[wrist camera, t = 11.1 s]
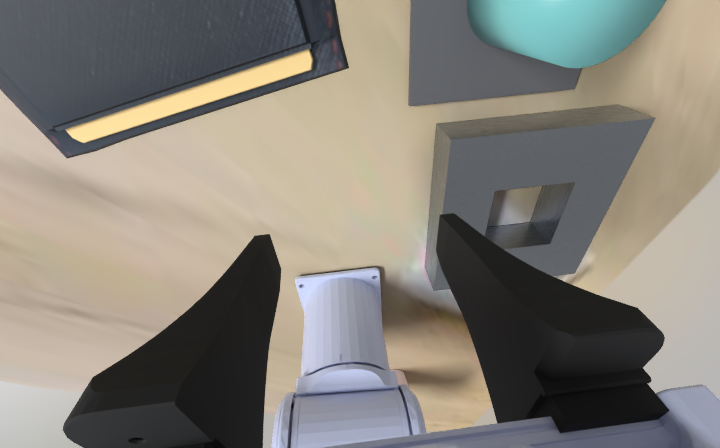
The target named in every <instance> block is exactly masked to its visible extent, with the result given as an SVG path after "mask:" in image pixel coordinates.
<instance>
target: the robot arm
mask: <svg viewBox="0 0 720 448" xmlns="http://www.w3.org/2000/svg"><path fill="white" fill-rule="evenodd" d="M436 253H437V256H438V260H439V263H440V266H441V269H442V272H443V274H444V276H445V278H446V280H447V282H448V285H449V287H450V289H451V291H452V293H453V295H454V297H455V299H456V301H457V304H458V306H459V308H460V310H461V312H462V314H463V316H464V319H465V321H466V324H467V326H468V329H469V332H470V335H471V338H472V341H473V343H474V346H475V349H476V353H477V356H478V359H479V362H480V365H481V368H482V371H483V374H484V378H485V381H486V384H487V388H488V391H489V394H490V398H491V401H492V405H493V408H494V412H495V416H496V419H497V423H498V424H491V425H484V426H476V427H469V428H461V429H454V430H447V431H439V432H432V433H426V428H425V423H424V418H423V414H422V411H421V407H420V405H419V402H418V400H417V397H416V396H415V394H414V393H413V392H412V391H411V390H410V389H409V388H408V386H407V385H405V384H402V385H398V382H397V377H396V372H395V371H390V369H389V363H388V357H387V352H386V346H385V340H384V334H383V329H382V309H381V288H380V272H379V269H378V268H366V269H357V270H349V271H340V272H332V273H324V274H315V275H307V276H299V277H297V278H296V279H295V284H296V287H297V290H298V294H299V297H300V300H301V304H302V307H303V310H304V314H305V320H304V335H303V350H302V365H301V377H298V378H297V385H296V393H295V392H290V393H287V394H286V395H285V398H284V399H283V400H282V401H281V402H280V403H279V405H278V408H277V412H276V417H275V423H274V430H273V439H272V448H720V400H719V399H718V398H717V397H716V396H715V395H714V394H713V393H712V392H711V391H710V390H709V389H708V388H707V387H706V386H704V385H694V386H688V387H679V388H672V389H667V390H663V391H661V392H658V393H656V394H655V392H654V391H653V390H652V389H651V388H650V387H649V385H648V384H647V383H649V382H651V377H650V376H649V375H648V374H647V373H646V372H645V370H644V369H643V367H644V366H645V365H646V364H647V362H648V361H649V360H651V359H652V358H653V357H654V355H655V354H656V353H657V352H658V351H659V350H660V349H661V347H662V346H663V342H664V338H665V337H664V335H663V333H662V332H661V331H660V330H659V329H658V328H657V327H656V326H655V325H654V324H653V323H652V322H651V321H650V320H649V319H648V318H647V317H646V316H645V315H644V314H643V313H642V312H641V311H640V310H639V309H638V308H635V307H633V306H630V305H626V304H623V303H620V302H617V301H614V300H611V299H608V298H605V297H602V296H599V295H596V294H594V293H591V292H589V291H586V290H583V289H581V288H578V287H576V286H573V285H571V284H569V283H566V282H564V281H562V280H559V279H557V278H555V277H553V276H551V275H549V274H546V273H544V272H542V271H540V270H538V269H536V268H534V267H533V266H531V265H529V264H527V263H525V262H524V261H522V260H520V259H518V258H517V257H515V256H513V255H512V254H510V253H508V252H507V251H505V250H504V249H502V248H501V247H499V246H498V245H496V244H495V243H493V242H492V241H490V240H489V239H488V238H486V237H485V236H483V235H482V234H481V233H479V232H478V231H477V230H475V229H474V228H473V227H472V226H470V225H469V224H468V223H466V222H465V221H464V220H462V219H461V218H460V217H459V216H457V215H456V214H454V213H450V214H441V215H440V216H439V225H438V235H437V244H436ZM280 280H281V267H280V264H279V261H278V258H277V255H276V252H275V249H274V246H273V243H272V240H271V237H270V234H267V235H258V236H254V238H253V239H252V240H251V241H250V243H249V244H248V245H247V246H246V248H245V249H244V250H243V251H242V253H241V254H240V255H239V256H238V258H237V259H236V260H235V261H234V263H233V264H232V265H231V266H230V267H229V269H228V270H227V271H226V272H225V273H224V274H223V276H222V277H221V278H220V279H219V280H218V281H217V282H216V283H215V284H214V285H213V287H212V288H211V289H210V290H209V291H208V292H207V293H206V294H205V295H204V296H203V297H202V298H201V299H200V300H198V301H197V302H196V303H195V304H194V305H193V306H192V307H191V308H190V309H189V310H188V311H186V312H185V313H184V314H183V315H182V316H180V317H179V318H178V319H177V320H175V321H174V322H173V323H172V324H171V325H169V326H168V327H167V328H166V329H164V330H163V331H162V332H160V333H159V334H158V335H156V336H155V337H154V338H152V339H151V340H150V341H148V342H147V343H145V344H144V345H142V346H141V347H140V348H138V349H137V350H135V351H134V352H132V353H131V354H129V355H128V356H126V357H125V358H123V359H122V360H120V361H118V362H117V363H115V364H114V365H112V366H110V367H109V368H107V369H106V370H104V371H102V372H101V373H99V374H98V375H96V376H94V377H93V378H92V380H91V381H90V383H89V384H88V386H87V387H86V389H85V391H84V392H83V394H82V396H81V398H80V399H79V401H78V402H77V404H76V405H75V407H74V409H73V410H72V412H71V413H70V415H69V417H68V418H67V420H66V421H65V423H64V426H63V431H64V433H65V435H66V436H67V438H69V439H70V440H71V441H73V442H74V443H76V444H78V445H80V446H82V447H84V448H262V447H263V419H264V400H265V385H266V372H267V361H268V350H269V343H270V337H271V332H272V327H273V322H274V317H275V312H276V307H277V302H278V297H279V292H280ZM301 284H302V285H301Z"/></svg>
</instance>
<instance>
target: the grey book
mask: <svg viewBox="0 0 720 448" xmlns="http://www.w3.org/2000/svg"><path fill="white" fill-rule="evenodd" d="M347 68H349V67H348V63H347V60H346V56H345V52H344V48H343V44H342V41H341V36H340V30H339V25H338V19H337V13H336V8H335V2H334V0H0V89H1V90H2V92H3V93H4V94H5V95H6V96H7V97H8V98H9V99H10V100H11V101H12V102H13V103H14V104H15V105H16V106H17V107H18V108H19V109H20V111H21V112H22V113H23V114H24V115H25V116H26V117H27V118H28V119H29V120H30V121H31V122H32V123H33V124H34V125H35V126H36V127H37V128H38V129H39V130H40V131H41V132H42V133H43V134H44V135H45V136H46V137H47V138H48V139H49V140H50V141H51V142H52V143H53V144H54V145H55V146H56V147H57V148H58V149H59V150H60V152H61V153H62V154H63V155H64V156H65V157H66V158H70V157H74V156H78V155H82V154H85V153H89V152H93V151H97V150H99V149H102V148H105V147H107V146H110V145H113V144H115V143H118V142H121V141H123V140H126V139H129V138H132V137H135V136H138V135H141V134H144V133H147V132H151V131H154V130H157V129H160V128H163V127H166V126H169V125H172V124H175V123H179V122H182V121H185V120H188V119H191V118H194V117H197V116H200V115H203V114H207V113H210V112H213V111H216V110H219V109H222V108H225V107H228V106H231V105H235V104H238V103H241V102H244V101H247V100H250V99H253V98H256V97H259V96H263V95H266V94H269V93H272V92H275V91H278V90H281V89H284V88H287V87H291V86H294V85H297V84H300V83H303V82H306V81H309V80H312V79H316V78H319V77H322V76H325V75H328V74H331V73H334V72H338V71H341V70H344V69H347Z"/></svg>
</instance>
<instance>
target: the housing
mask: <svg viewBox="0 0 720 448" xmlns="http://www.w3.org/2000/svg"><path fill="white" fill-rule="evenodd" d="M654 120H655V118H654V117H651V116H648V115H645V114H643V113H640V112H637V111H634V110H631V109H629V108H626V107H623V106H620V105H610V106H601V107H591V108H582V109H572V110H563V111H553V112H544V113H535V114H525V115H516V116H506V117H497V118H487V119H478V120H468V121H459V122H449V123H440V124H436V136H435V148H434V160H433V173H432V185H431V197H430V210H429V222H428V234H427V247H426V259H425V269H426V271H427V274H428V277H429V279H430V282H431V285H432V287H433V290H434V291H435V290H444V289H450V287H449V285H448V282H447V280H446V278H445V276H444V274H443V272H442V269H441V266H440V263H439V260H438V256H437V253H436V244H437V235H438V225H439V216H440V215H441V214H450V213H454V214H456V215H457V216H459V217H460V218H461V219H462V220H464V221H465V222H466V223H468V224H469V225H470V226H472V227H473V228H474V229H475V230H477V231H478V232H479V233H481V234H482V235H483V236H485V237H486V238H488V239H489V240H490V241H492V242H493V243H495V244H496V245H498V246H499V247H501V248H502V249H504V250H505V251H507V252H508V253H510V254H512V255H513V256H515V257H517V258H518V259H520V260H522V261H524V262H525V263H527V264H529V265H531V266H533V267H534V268H536V269H538V270H540V271H542V272H544V273H546V274H549V275H551V276H558V275H566V274H574V273H575V272H576V270H577V268H578V266H579V264H580V263H581V261H582V259H583V257H584V255H585V253H586V251H587V249H588V247H589V245H590V243H591V241H592V239H593V237H594V235H595V234H596V232H597V230H598V228H599V226H600V224H601V222H602V220H603V218H604V216H605V214H606V212H607V210H608V208H609V207H610V205H611V203H612V201H613V199H614V197H615V195H616V193H617V191H618V189H619V187H620V185H621V183H622V181H623V179H624V178H625V176H626V174H627V172H628V170H629V168H630V166H631V164H632V162H633V160H634V158H635V156H636V154H637V152H638V151H639V149H640V147H641V145H642V143H643V141H644V139H645V137H646V135H647V133H648V131H649V129H650V127H651V125H652V123H653V122H654ZM535 186H542V189H541V192H540V195H539V198H538V201H537V204H536V207H535V210H534V213H533V216H532V219H531V222H529V223H521V224H512V225H503V226H495V227H487V224H488V220H489V215H490V211H491V207H492V203H493V198H494V194H495V191H500V190H509V189H518V188H527V187H535Z"/></svg>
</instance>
